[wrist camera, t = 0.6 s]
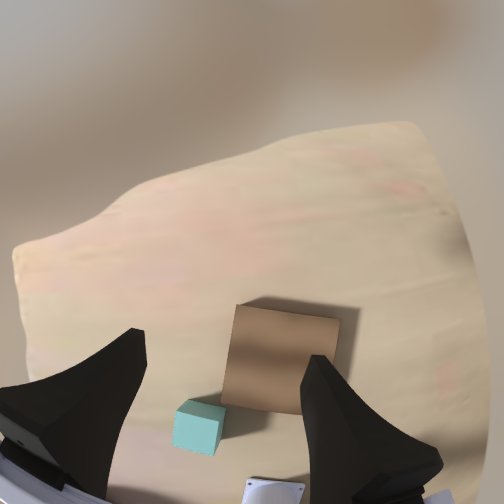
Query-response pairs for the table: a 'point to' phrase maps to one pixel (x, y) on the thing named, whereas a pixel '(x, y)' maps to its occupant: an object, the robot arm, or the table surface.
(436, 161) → the table surface
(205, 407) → the teal cube
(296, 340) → the walnut plinth
